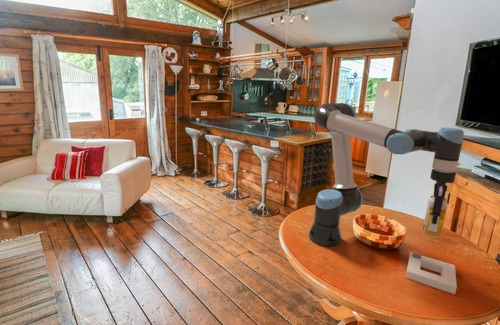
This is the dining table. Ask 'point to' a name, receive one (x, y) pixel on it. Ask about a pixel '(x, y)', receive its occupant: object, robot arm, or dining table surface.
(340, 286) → the dining table surface
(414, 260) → the socket plate
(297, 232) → the dining table surface
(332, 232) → the robot arm
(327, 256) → the dining table surface
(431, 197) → the beer can
